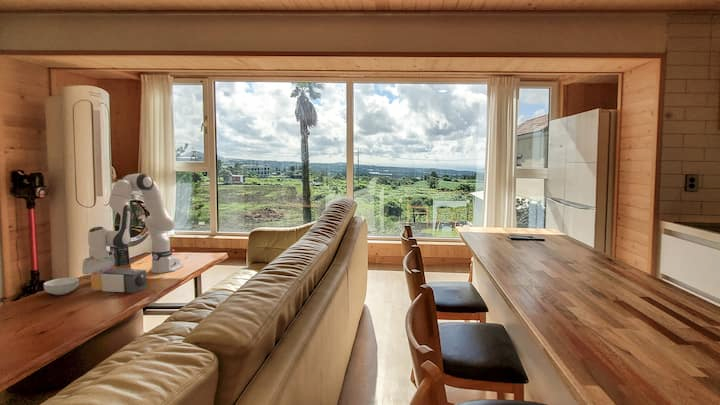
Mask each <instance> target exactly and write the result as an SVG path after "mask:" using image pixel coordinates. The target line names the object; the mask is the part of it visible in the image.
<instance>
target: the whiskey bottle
mask: <svg viewBox="0 0 720 405" xmlns="http://www.w3.org/2000/svg"><path fill="white" fill-rule="evenodd" d="M119 229H120V224H117V225H116V224H115V225H114V231H119ZM129 245H130V243H129V244H128V246H126V247H125V248H118V247H110V246H109V251H113V252H114V254H113V256H114V266H112V267H111V270H114V269H117V268H128V269H132V266H131V265H132V264H130V262H131V261H130V252H129Z"/></svg>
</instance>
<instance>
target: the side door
mask: <svg viewBox="0 0 720 405" xmlns="http://www.w3.org/2000/svg"><path fill="white" fill-rule="evenodd" d="M90 279H91V280H90V281H91V290H93V291H94V290H95V291H97V290H98V291H99V290H100V291H102V292H110V293H111V292H112V293H116V292H117V293H126V292H125V286H124V275H110V274H92V273H91V274H90Z"/></svg>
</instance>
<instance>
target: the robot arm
mask: <svg viewBox="0 0 720 405" xmlns="http://www.w3.org/2000/svg"><path fill="white" fill-rule="evenodd" d="M133 192H140V193H141V194H142V198H143V202H144V205H145V209H146V210H147V212H149V214H150V215H148V216H146V218H145V220H144V225H145V227H146V228H147V229H148V230H147V231H148V233H149V236H150V239H151V248H152V251H151V257H152V258H151V267H150V272H151V273H154V274H164V273H168V272H169V273H171V272H173V273H174V272H176V271H177V270H179V269H181V268H183V267H184V266H185V265H184V264H182V263H181V260H180V258H179V257H177V256H175V254H173V253H175V251H176V250H175V249H171V243H170V239H171V238H170V237H169V236H168V235H167V233H169V232H171V231H173V230H174V229H175V227H176V221H175V219H174V218H172V216H171V215H170V213H169V211H168V210H167V209H166V206H165V203H164V200H163V197H162V194H161V191H160V187H159V185H158V184H157V182H156V181H155V180H154V179H153V178H152V177H151V176H150V175H149V174H147V173H132V174H126V175H123V176H122V177H121V178H120V179H119V180H116V182H115V183H114V185H113V187H112V189H111V193H110V195H109V199H108V204H109V207H110V208H111V209H112V210H113V211H114V212H116V213H118V215H119V216H120V217H119V218H120V220H119V221H120V222H119V225H120V229H119V231H115V230H110V229H106V228H104V227H103V226H96V227H95V226H94V227H92V228H90V229H89V230H88V233H87V243H88V248H89V249H88V257H86V258H84V260H83V261H82V267H81V268H82V270H81V272H82V274H83V275H91V274H92V273H94V272H95V274H103V272H104V269H106V268H109V267H112V266H114V256H113V254H114V252H113V251H110V250H107V249H108V248H107V247H109V248H110V247H118V248H125V247H126V246H128V247H129V245H130V243H131V240H132V238H131V237H132V236H131V228H132V219H133V218H132V217H133V216H132V215H133V210H132V207H131V199H132V194H133ZM128 244H129V245H128ZM99 271H100V272H99Z"/></svg>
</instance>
